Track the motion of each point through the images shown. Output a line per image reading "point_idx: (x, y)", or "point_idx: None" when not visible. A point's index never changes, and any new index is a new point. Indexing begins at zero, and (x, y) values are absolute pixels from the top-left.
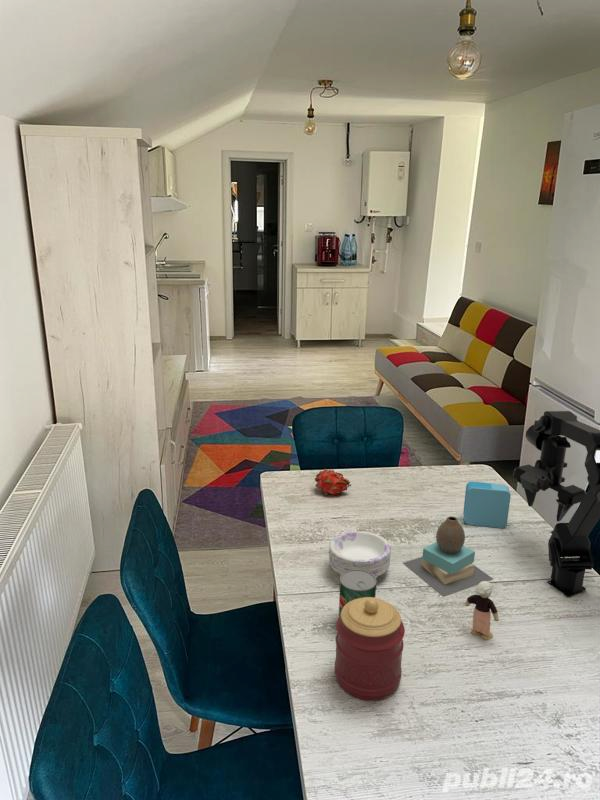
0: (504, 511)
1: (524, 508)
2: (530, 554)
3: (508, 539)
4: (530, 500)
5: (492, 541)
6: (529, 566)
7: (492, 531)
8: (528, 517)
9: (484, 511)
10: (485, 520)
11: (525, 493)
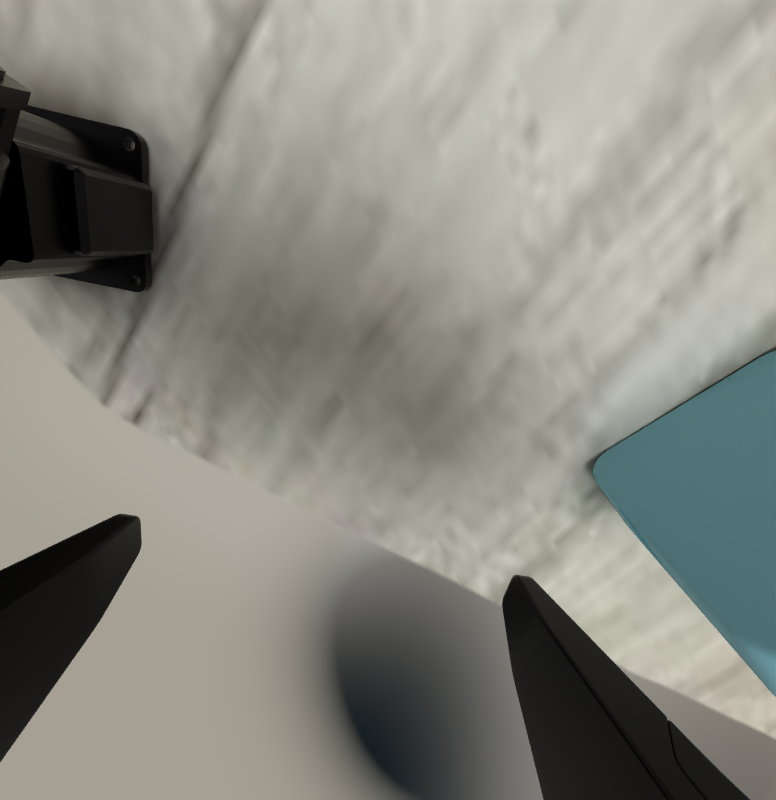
0: (663, 516)
1: None
2: (381, 350)
3: (530, 389)
4: (543, 646)
5: (586, 305)
6: (316, 234)
7: (627, 394)
8: None
9: (774, 441)
10: (708, 419)
11: (680, 731)
